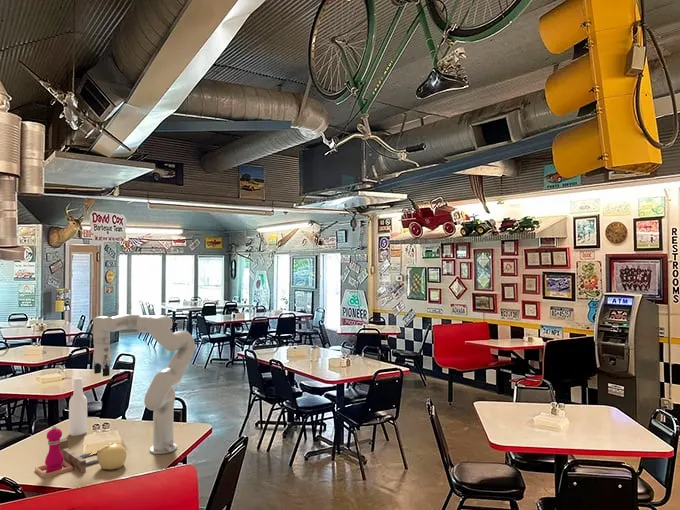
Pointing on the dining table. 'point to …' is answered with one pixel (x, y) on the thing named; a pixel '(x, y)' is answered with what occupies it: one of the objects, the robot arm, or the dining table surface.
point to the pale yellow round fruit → (111, 456)
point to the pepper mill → (54, 450)
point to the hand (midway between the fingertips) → (101, 374)
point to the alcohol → (78, 410)
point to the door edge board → (72, 457)
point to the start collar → (89, 461)
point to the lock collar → (40, 472)
